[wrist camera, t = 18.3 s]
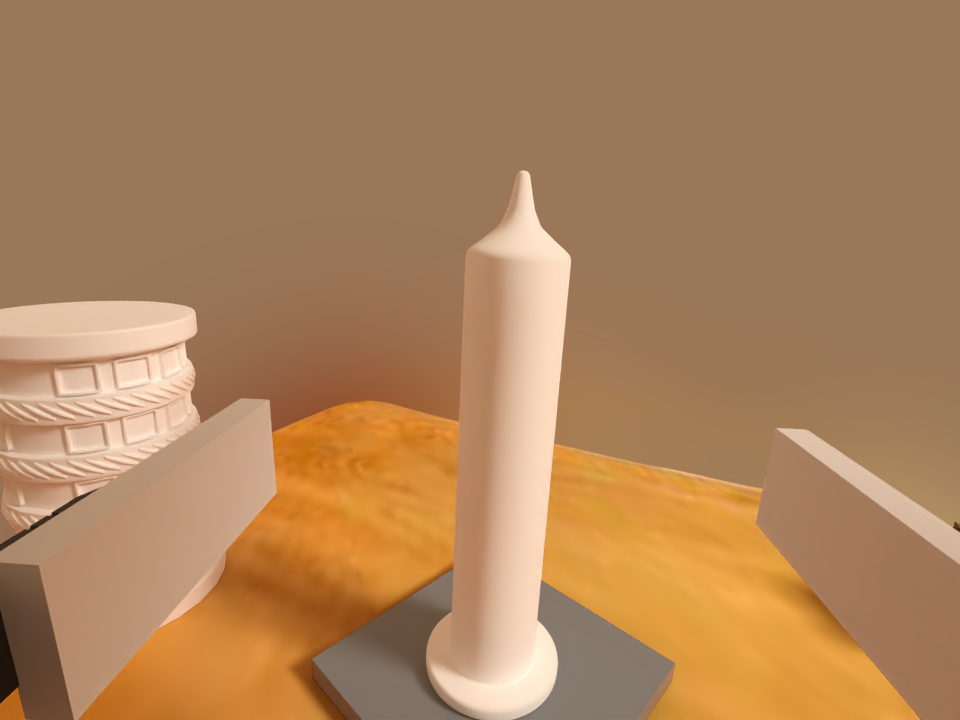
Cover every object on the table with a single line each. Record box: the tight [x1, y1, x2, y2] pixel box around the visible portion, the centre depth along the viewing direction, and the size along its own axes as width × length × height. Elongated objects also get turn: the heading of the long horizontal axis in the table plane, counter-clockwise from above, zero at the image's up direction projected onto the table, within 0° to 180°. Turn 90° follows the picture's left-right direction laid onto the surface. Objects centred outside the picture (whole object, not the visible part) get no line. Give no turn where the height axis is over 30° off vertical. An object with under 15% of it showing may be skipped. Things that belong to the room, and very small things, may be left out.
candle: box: [426, 171, 571, 720], centre depth 23 cm, size 7×7×25 cm
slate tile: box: [312, 569, 675, 720], centre depth 27 cm, size 14×14×1 cm
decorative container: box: [0, 301, 226, 629], centre depth 30 cm, size 12×12×18 cm
